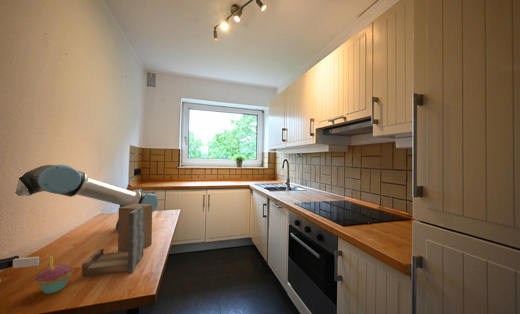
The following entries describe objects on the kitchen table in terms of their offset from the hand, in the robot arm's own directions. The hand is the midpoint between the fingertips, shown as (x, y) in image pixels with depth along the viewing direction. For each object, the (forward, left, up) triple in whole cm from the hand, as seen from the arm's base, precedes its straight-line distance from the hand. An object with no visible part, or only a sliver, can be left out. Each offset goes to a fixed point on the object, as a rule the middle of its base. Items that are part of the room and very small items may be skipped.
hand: (20, 271), depth 62 cm
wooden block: (-28, +23, -7) cm, 37 cm away
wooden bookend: (-11, +21, -7) cm, 25 cm away
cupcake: (0, +8, -7) cm, 11 cm away
